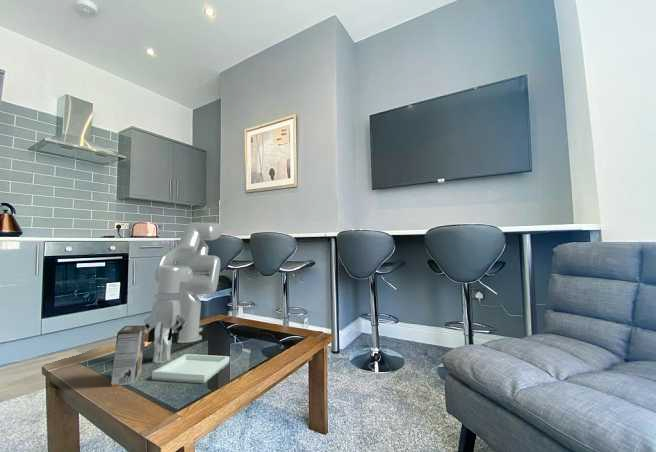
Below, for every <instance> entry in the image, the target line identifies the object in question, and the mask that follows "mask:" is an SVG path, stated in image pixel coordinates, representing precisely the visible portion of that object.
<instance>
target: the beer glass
mask: <svg viewBox="0 0 656 452" xmlns="http://www.w3.org/2000/svg"><path fill="white" fill-rule="evenodd" d="M162 323H163V322H158V324H157V327H156V328H155V330H154V341H153V342H154V354H153V357H152V363H154V364H160V363H162V364H163V363H166V362H167V363H168V362H169V361H170V360H171V359H172V357H171V347H172V343H171V341H172V333H174V331H173V330H172V328H164V327H163V324H162Z"/></svg>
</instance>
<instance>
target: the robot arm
mask: <svg viewBox="0 0 656 452" xmlns="http://www.w3.org/2000/svg"><path fill="white" fill-rule="evenodd" d="M222 232H223V229H222V226H221V224H220V223H217V222H202V221H201V222H200V221H195V222H191V223H188V224H186V226H185V227H184V230H183V232H182V234H181V237H180V239H179V242H178V244H177V246H175V247H173V248H172V249H170V250H168V251H167V252H166V253H164V254H163V256H162V257H160V260H159V262H158V263H157V266H156V269H155V271H154V280H155V281H156V282H157V283H158V287H157V292H156V293H157V294H154V297H155V298H156V300H155V301H154V302H153V303H152V304H153V305H152V307H151V311H150V314H149V316H148V317H146V318H145V319H144V320H143V323H144V325H146V327H145V329H147V331H146V332H148V335H147V343H152V342H154V330H155V328H156V327H157V324H158V322H163V323H162V324H163V327H164V328H172V330H173V331H174V333H172V341H171V343H172V344H176V342H177V344H187V343H194V342H198V341H200V340H202V338H203V336H202V335H201V334H199V333H200V332H202V331H203V327H200V319H201V310H202V308H201V307H202V301H201V298H200V297H199V296H198V295H210V294H215V293H216V291H217V289H218V284H219V278H220V272H221V258H220V257H218V256H217V255H209V248H210V247H209V246H208V244H207V243H206V241H214V240H217V239H219V238H220V237H221V236H222ZM186 258H188V262H187V266H186V265H180V266H179V265H172V264H174V263H175V262H177V261H180V260H182V259H186ZM179 295H180V297H179ZM179 298H180V300H179ZM201 337H202V338H201ZM172 344H171V345H172Z"/></svg>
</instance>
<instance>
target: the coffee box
mask: <svg viewBox="0 0 656 452" xmlns="http://www.w3.org/2000/svg"><path fill="white" fill-rule="evenodd" d="M145 333H146V325H145V324H144V325H125V326H123V327H122V328H121V329H120V330H119V331H118V332H117V333H116V341H115V348H114V358H113V364H112V365H113V366H112V371H111V372H112V374H111V382H110V385H111V384H119V386H124V385H125V386H126V385H134V384H135V383H136V381H137V380H138V378H139V377H140V375H141V373H142V366H143V365H142V364H143V357H144V356H143V354H144V346H145V335H146V334H145Z"/></svg>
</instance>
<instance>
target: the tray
mask: <svg viewBox="0 0 656 452" xmlns="http://www.w3.org/2000/svg"><path fill="white" fill-rule="evenodd" d="M229 364H230V356H227V355H212V354H211V355H208V354H196V353H195V354H193V353H192V354H191V353H185V354H183V355H181V356H179V357H178V358H177V357H176V358H175V359H173V360H172V361H170V362H167V363H165V364H164V365H162V366H160V367H159V368H156V369H155V370H152V371H151V372H152V373H151V381H163V382H178V383H193V384H194V383H195V384H206V383H207V382H208V381H209V380H211V378H213V377H214V376H215V375H216V374H217V373H219V372H220V371H221V370H223V369H224V368H225V367H226V366H228V365H229Z"/></svg>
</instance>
